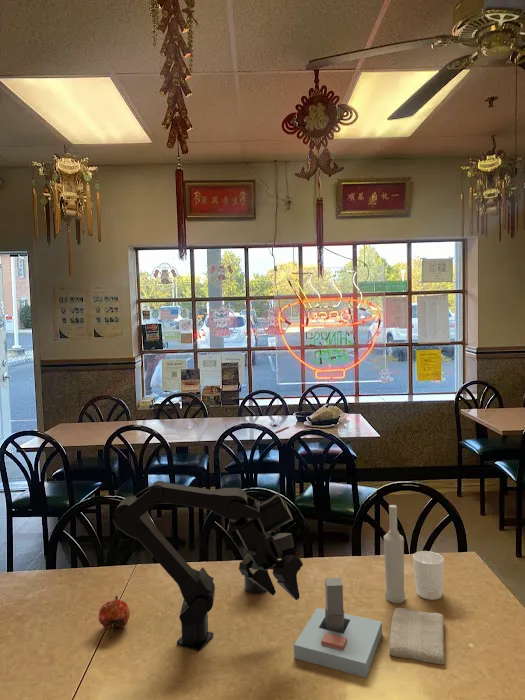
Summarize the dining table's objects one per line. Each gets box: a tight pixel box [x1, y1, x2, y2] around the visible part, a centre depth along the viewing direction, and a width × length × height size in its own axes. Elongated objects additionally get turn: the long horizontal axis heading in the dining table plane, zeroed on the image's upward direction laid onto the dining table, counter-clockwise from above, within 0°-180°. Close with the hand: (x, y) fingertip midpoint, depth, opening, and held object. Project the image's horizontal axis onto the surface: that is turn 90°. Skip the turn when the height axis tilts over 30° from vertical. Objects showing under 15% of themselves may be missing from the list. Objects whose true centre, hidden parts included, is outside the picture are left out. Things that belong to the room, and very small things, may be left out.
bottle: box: [383, 504, 406, 604], centre depth 130 cm, size 5×5×25 cm
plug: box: [324, 577, 345, 634], centre depth 114 cm, size 4×4×13 cm
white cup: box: [412, 550, 445, 601], centre depth 132 cm, size 8×8×10 cm
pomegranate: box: [98, 595, 131, 640], centre depth 120 cm, size 7×7×10 cm
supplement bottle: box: [243, 554, 269, 594], centre depth 138 cm, size 7×7×12 cm
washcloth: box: [389, 607, 446, 665], centre depth 113 cm, size 12×18×3 cm, turn 162°
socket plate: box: [293, 607, 383, 679], centre depth 111 cm, size 16×16×4 cm
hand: (285, 596), depth 115 cm, fingers open, 9 cm apart
